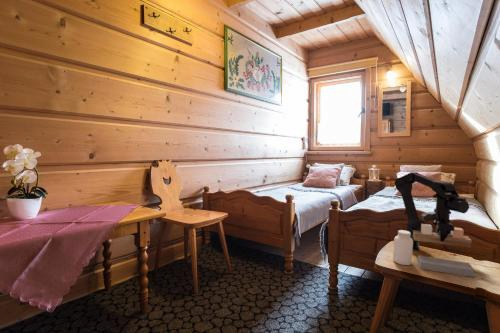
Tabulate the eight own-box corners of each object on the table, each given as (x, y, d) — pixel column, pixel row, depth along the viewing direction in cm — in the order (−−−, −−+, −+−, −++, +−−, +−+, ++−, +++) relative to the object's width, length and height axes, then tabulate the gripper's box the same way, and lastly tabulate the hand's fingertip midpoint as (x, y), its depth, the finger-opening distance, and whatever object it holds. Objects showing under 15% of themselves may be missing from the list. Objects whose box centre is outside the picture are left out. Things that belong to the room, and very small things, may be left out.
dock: (417, 261, 136) (418, 255, 136) (468, 269, 129) (468, 263, 128) (420, 268, 129) (420, 262, 129) (474, 277, 121) (474, 270, 121)
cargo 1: (420, 231, 143) (421, 223, 142) (430, 232, 141) (430, 224, 141) (422, 233, 139) (422, 226, 139) (431, 235, 137) (432, 227, 137)
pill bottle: (414, 266, 131) (416, 235, 130) (395, 264, 133) (397, 233, 131) (408, 259, 139) (410, 229, 138) (390, 257, 141) (392, 228, 139)
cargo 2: (450, 234, 138) (451, 226, 137) (460, 236, 136) (461, 228, 136) (452, 237, 134) (453, 229, 134) (462, 238, 133) (463, 230, 132)
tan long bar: (412, 236, 145) (413, 230, 145) (467, 243, 136) (467, 236, 136) (414, 240, 140) (414, 233, 139) (471, 247, 131) (471, 240, 131)
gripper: (420, 202, 148) (418, 231, 150) (427, 210, 131) (424, 243, 132) (445, 204, 144) (443, 234, 145) (455, 213, 127) (453, 246, 128)
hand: (440, 239), depth 138 cm, fingers closed on tan long bar, 5 cm apart
